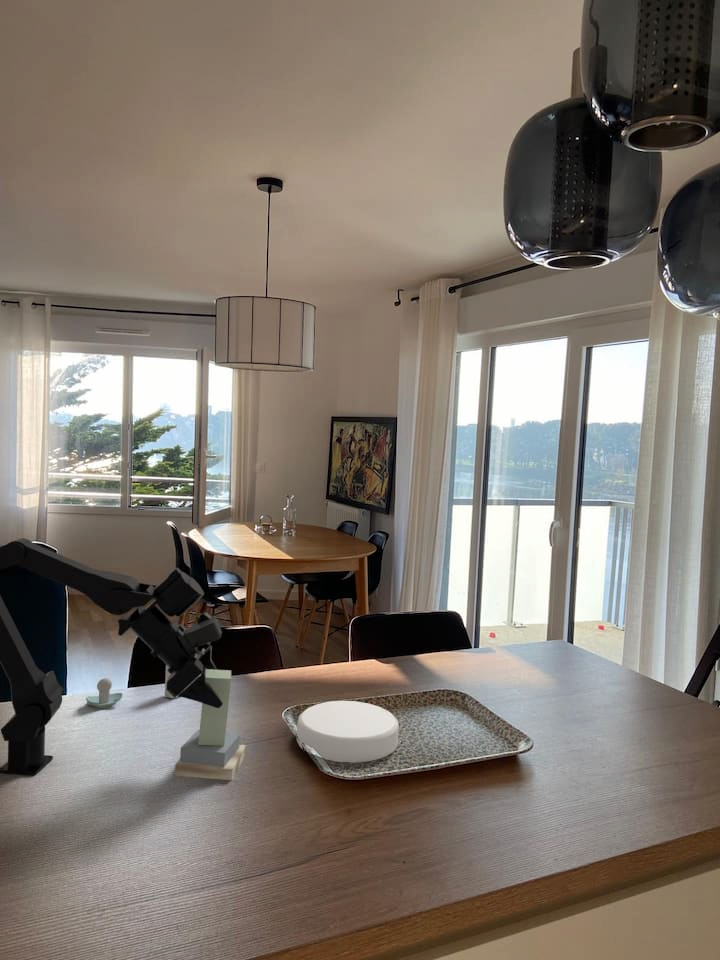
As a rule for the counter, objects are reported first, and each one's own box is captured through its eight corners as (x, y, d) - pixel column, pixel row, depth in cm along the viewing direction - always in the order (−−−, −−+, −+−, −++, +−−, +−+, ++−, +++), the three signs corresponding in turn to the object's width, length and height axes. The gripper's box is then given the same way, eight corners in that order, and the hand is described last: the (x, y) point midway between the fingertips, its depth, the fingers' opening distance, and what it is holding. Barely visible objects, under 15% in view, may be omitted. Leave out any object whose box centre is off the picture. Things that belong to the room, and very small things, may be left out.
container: (276, 746, 138) (277, 723, 137) (328, 713, 155) (329, 692, 155) (369, 773, 129) (371, 748, 128) (413, 735, 146) (415, 712, 146)
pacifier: (82, 703, 155) (87, 712, 149) (83, 674, 154) (87, 682, 149) (118, 698, 158) (123, 707, 153) (118, 670, 158) (124, 678, 153)
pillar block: (224, 745, 126) (231, 678, 126) (198, 745, 126) (204, 677, 125) (224, 735, 131) (231, 670, 130) (199, 734, 130) (205, 669, 130)
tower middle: (224, 767, 124) (224, 752, 124) (180, 761, 125) (180, 747, 125) (239, 747, 132) (239, 734, 132) (197, 742, 133) (198, 729, 133)
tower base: (231, 783, 123) (232, 769, 123) (174, 779, 124) (175, 764, 124) (245, 758, 133) (245, 745, 133) (192, 754, 134) (192, 740, 134)
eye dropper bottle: (191, 695, 161) (193, 643, 161) (167, 700, 158) (169, 646, 157) (184, 689, 165) (186, 638, 164) (160, 693, 162) (162, 641, 161)
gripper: (189, 616, 117) (255, 683, 119) (200, 591, 136) (257, 649, 138) (138, 663, 117) (205, 729, 119) (155, 632, 135) (213, 689, 137)
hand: (222, 696), depth 128 cm, fingers open, 9 cm apart
